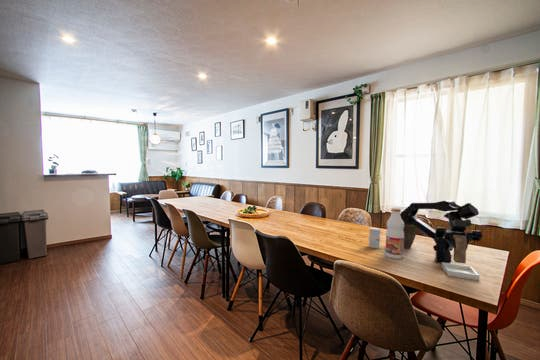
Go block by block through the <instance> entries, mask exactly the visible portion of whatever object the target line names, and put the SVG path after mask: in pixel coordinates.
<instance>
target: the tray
mask: <svg viewBox="0 0 540 360" xmlns="http://www.w3.org/2000/svg"><path fill="white" fill-rule="evenodd" d="M441 267H442V269H443V271H444V272H445V274H446V276H448V277H453V278H461V279H465V280H466V279H467V280H473V281H480V274H478V272H477V271H476V270H475V269H474V268H473V267H472V266H471V265H465V264H461V263H452V262H450V263H444V262H442V263H441Z"/></svg>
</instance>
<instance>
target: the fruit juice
mask: <svg viewBox="0 0 540 360" xmlns="http://www.w3.org/2000/svg"><path fill="white" fill-rule="evenodd" d="M390 211H391V213H390V217H389V218H388V220H386V228H387V229H386V231H385V232H386V233H385V256H386V257H387V258H391V259H395V260H396V259H397V260H401V259H404V251H405V248H404V231H403V228H404V222H403V220H402V219H401V216H400V213H401V212H402V211H401V208H396V207H393V208H391V209H390Z"/></svg>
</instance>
